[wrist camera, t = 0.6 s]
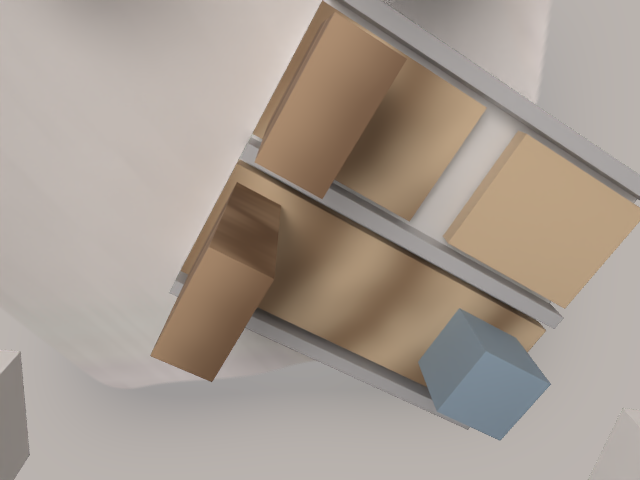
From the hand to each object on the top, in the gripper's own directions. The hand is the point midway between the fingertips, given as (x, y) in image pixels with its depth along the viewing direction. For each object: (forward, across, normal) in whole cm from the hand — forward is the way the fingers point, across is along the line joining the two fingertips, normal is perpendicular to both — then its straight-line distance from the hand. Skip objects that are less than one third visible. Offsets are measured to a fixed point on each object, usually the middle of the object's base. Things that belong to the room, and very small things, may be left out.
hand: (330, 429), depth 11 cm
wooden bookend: (+21, +3, +4) cm, 22 cm away
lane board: (+22, +7, -3) cm, 24 cm away
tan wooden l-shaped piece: (+21, +5, -7) cm, 23 cm away
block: (+20, +13, -10) cm, 26 cm away
